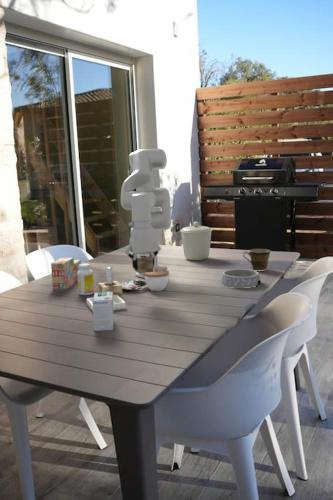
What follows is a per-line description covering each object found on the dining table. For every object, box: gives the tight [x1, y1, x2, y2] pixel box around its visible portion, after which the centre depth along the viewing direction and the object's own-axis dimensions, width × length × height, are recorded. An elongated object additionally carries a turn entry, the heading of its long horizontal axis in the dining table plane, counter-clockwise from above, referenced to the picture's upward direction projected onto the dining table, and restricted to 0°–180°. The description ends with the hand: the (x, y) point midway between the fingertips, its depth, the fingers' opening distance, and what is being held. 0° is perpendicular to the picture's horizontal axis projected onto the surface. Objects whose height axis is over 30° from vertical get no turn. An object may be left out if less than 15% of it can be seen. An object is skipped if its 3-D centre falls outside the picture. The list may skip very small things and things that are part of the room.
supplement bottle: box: [77, 263, 95, 296], centre depth 218 cm, size 7×7×13 cm
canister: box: [179, 221, 213, 261], centre depth 284 cm, size 18×18×21 cm
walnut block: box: [134, 254, 153, 273], centre depth 206 cm, size 6×6×6 cm
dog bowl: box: [220, 268, 262, 288], centre depth 228 cm, size 17×18×5 cm
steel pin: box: [105, 266, 114, 286], centre depth 211 cm, size 3×3×12 cm
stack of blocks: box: [50, 257, 82, 290], centre depth 238 cm, size 21×6×12 cm, turn 169°
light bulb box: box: [92, 291, 115, 332], centre depth 176 cm, size 11×7×11 cm, turn 5°
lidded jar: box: [144, 268, 170, 292], centre depth 223 cm, size 11×11×9 cm
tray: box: [85, 295, 127, 313], centre depth 199 cm, size 13×13×2 cm
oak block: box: [97, 280, 124, 300], centre depth 212 cm, size 8×8×6 cm
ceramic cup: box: [243, 248, 271, 270], centre depth 252 cm, size 13×10×10 cm
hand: (143, 267), depth 206 cm, fingers closed on walnut block, 6 cm apart
